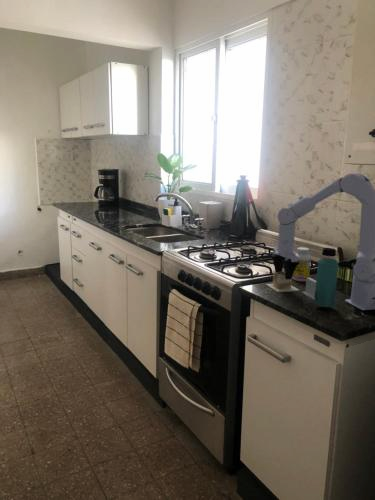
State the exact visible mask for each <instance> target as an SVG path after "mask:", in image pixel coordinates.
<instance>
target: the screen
mask: <svg viewBox="0 0 375 500" xmlns="http://www.w3.org/2000/svg"><path fill="white" fill-rule="evenodd" d="M315 290H316V280H315V279H313V278H311V277H309V278H307V279H306V281H305V291H302V294H303V295H304V296H306V297H308V298H310V299H311V300H313V301H314V302H315V300H314V299H315V297H314V296H315Z"/></svg>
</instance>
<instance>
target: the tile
mask: <svg viewBox="0 0 375 500" xmlns="http://www.w3.org/2000/svg"><path fill="white" fill-rule="evenodd" d="M265 284H266V285H265V286H267V287H269V288H270V289H272V291H274V292H276V293H286V292H288V293H289V292H299V291H300V289H299V288H297V287H295V286H293V284H291V288H288V289H278V288H276V287H275V286H273V283H265Z"/></svg>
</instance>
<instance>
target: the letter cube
mask: <svg viewBox="0 0 375 500" xmlns="http://www.w3.org/2000/svg"><path fill="white" fill-rule="evenodd" d="M272 276H273V277H272V284H273V286H275V287H276V288H278V289H288V288H291V285H292V280H293V279H285V271H282V272H275V271H274V272H273V275H272Z"/></svg>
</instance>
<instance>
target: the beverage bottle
mask: <svg viewBox="0 0 375 500" xmlns="http://www.w3.org/2000/svg"><path fill="white" fill-rule="evenodd" d="M321 255H322V256H325V257H322V258H320V259H319V260H318V261H317V271H316V272H317V273H316V280H315V281H316V290H315V296H314V297H315V299H314V300H315V301H314V300H313V301H314V304H315V305H317V306H319V307H322V308H323V307H324V308H332V307H334V306H335V301H336V293H337V291H336V290H337V282H338V270H339V262H338V261H337V260H336V259H335V258H332V257H336V256H337V250H336V248H332V247H324V248H323V249H322V252H321Z"/></svg>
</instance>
